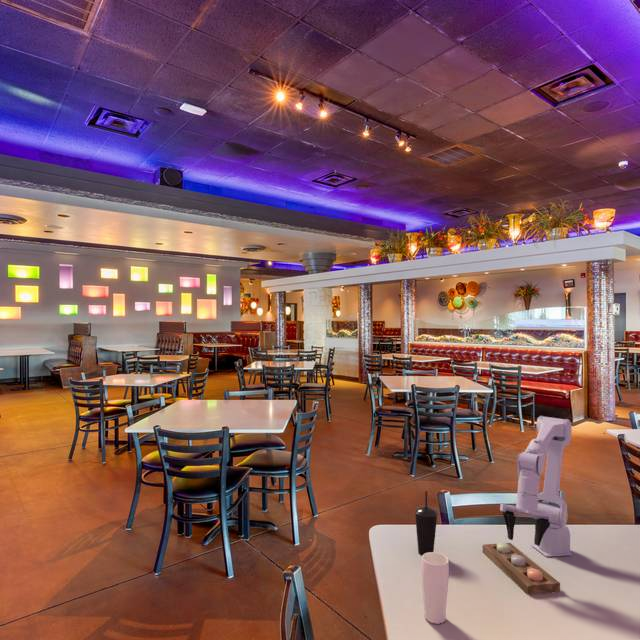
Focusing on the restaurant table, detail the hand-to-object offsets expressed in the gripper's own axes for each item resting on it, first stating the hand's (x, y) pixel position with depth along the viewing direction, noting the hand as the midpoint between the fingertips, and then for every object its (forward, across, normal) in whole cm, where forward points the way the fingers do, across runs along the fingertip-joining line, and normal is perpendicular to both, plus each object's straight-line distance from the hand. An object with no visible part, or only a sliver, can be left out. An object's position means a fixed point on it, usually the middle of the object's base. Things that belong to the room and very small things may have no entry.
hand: (523, 542), depth 131 cm
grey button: (+8, +2, +8) cm, 12 cm away
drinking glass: (+20, -26, -17) cm, 37 cm away
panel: (+10, +2, +8) cm, 13 cm away
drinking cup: (+12, -24, +16) cm, 32 cm away
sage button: (+7, 0, +15) cm, 17 cm away
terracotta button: (+10, +4, 0) cm, 11 cm away
